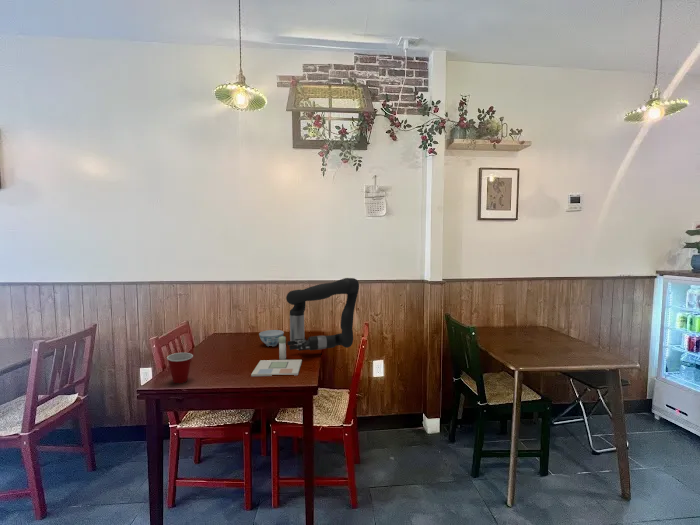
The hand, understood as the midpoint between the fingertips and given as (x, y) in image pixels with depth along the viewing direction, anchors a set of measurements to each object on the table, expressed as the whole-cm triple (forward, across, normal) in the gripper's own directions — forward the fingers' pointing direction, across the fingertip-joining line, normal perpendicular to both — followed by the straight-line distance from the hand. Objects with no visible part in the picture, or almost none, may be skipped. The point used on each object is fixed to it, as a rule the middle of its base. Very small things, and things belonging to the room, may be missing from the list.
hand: (288, 345), depth 190 cm
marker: (+3, 0, +7) cm, 8 cm away
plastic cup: (+52, +17, +7) cm, 55 cm away
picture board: (+7, +14, +7) cm, 18 cm away
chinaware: (+7, -29, +7) cm, 31 cm away
